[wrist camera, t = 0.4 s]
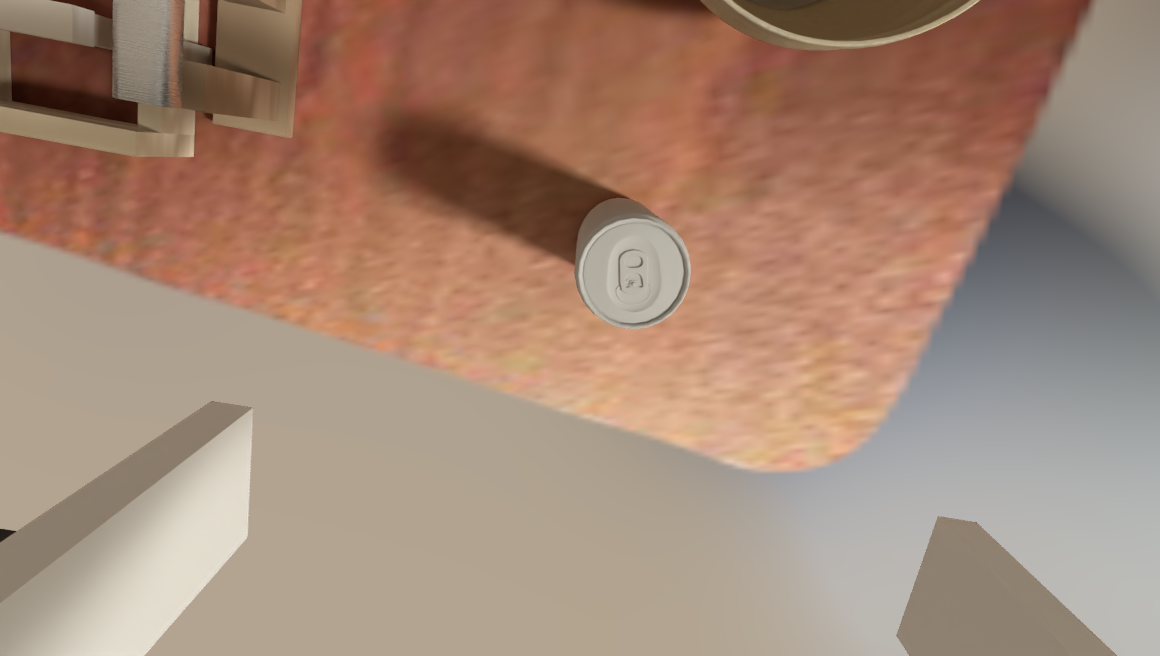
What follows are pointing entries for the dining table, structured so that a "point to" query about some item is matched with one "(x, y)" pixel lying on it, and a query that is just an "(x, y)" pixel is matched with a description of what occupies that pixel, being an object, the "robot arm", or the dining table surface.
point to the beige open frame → (160, 132)
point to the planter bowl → (835, 20)
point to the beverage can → (630, 265)
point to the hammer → (148, 51)
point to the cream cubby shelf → (249, 67)
